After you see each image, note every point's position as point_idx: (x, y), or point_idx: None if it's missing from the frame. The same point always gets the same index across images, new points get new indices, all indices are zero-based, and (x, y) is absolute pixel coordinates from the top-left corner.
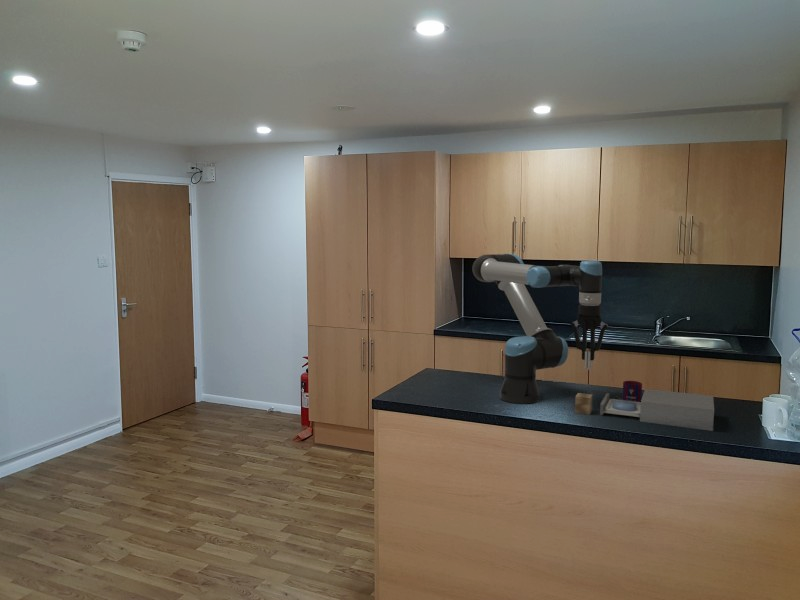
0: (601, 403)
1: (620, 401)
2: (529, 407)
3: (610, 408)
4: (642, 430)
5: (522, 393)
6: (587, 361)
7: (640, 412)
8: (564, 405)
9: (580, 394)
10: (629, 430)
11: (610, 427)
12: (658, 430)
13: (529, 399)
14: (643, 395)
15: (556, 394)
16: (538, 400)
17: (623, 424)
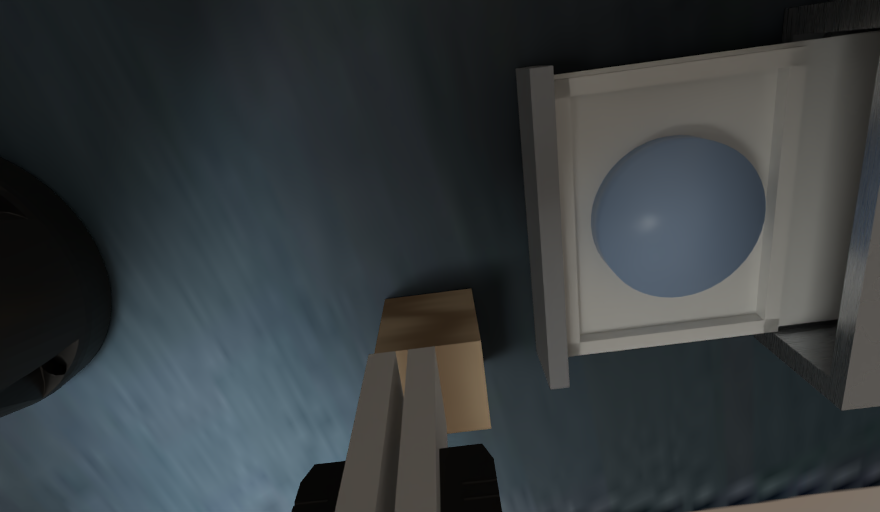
0: (554, 372)
1: (650, 181)
2: (143, 410)
3: (586, 273)
4: (766, 455)
5: (16, 409)
6: (395, 449)
7: (790, 366)
8: (286, 267)
9: (404, 382)
10: (707, 483)
11: (620, 488)
12: (842, 419)
13: (81, 366)
14: (874, 245)
15: (97, 12)
16: (105, 277)
17: (673, 420)
